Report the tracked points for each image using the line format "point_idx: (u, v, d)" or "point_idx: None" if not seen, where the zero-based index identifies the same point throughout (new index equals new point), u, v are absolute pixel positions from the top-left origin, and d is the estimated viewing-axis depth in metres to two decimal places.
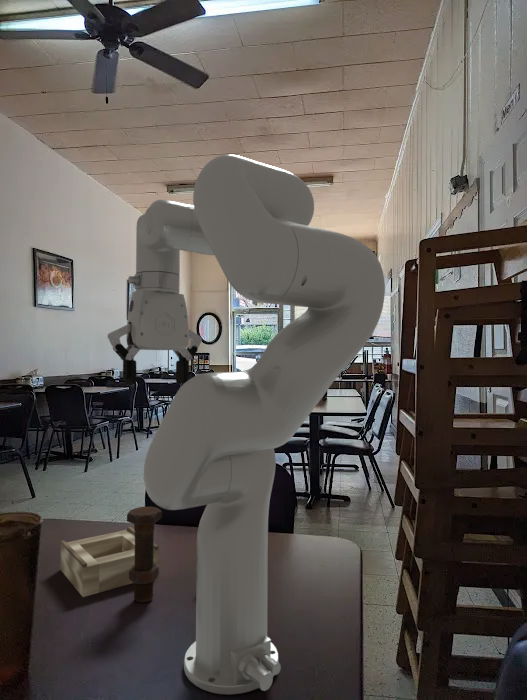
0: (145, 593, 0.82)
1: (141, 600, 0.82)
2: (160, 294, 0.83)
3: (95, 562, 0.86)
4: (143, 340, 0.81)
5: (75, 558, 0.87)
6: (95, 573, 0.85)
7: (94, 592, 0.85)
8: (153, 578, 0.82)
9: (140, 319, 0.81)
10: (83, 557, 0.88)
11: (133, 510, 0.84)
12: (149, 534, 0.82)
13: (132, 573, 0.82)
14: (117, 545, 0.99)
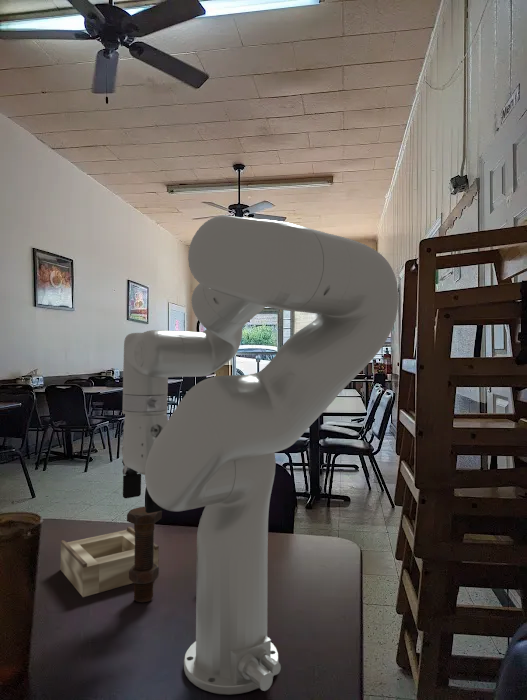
0: (145, 593, 0.82)
1: (141, 600, 0.82)
2: None
3: (95, 562, 0.86)
4: None
5: (75, 558, 0.87)
6: (95, 573, 0.85)
7: (94, 592, 0.85)
8: (153, 578, 0.82)
9: None
10: (83, 557, 0.88)
11: (133, 510, 0.84)
12: (149, 534, 0.82)
13: (132, 573, 0.82)
14: (117, 545, 0.99)
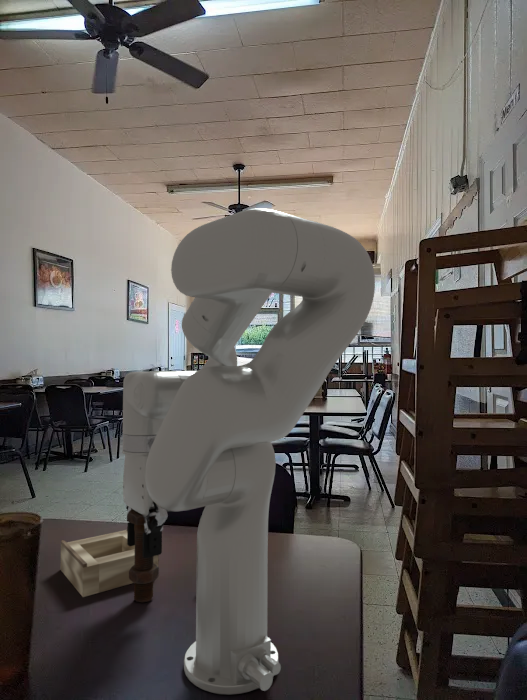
0: (145, 593, 0.82)
1: (141, 600, 0.82)
2: None
3: (95, 562, 0.86)
4: None
5: (75, 558, 0.87)
6: (95, 573, 0.85)
7: (94, 592, 0.85)
8: (153, 578, 0.82)
9: None
10: (83, 557, 0.88)
11: (133, 510, 0.84)
12: None
13: (132, 573, 0.82)
14: (117, 545, 0.99)
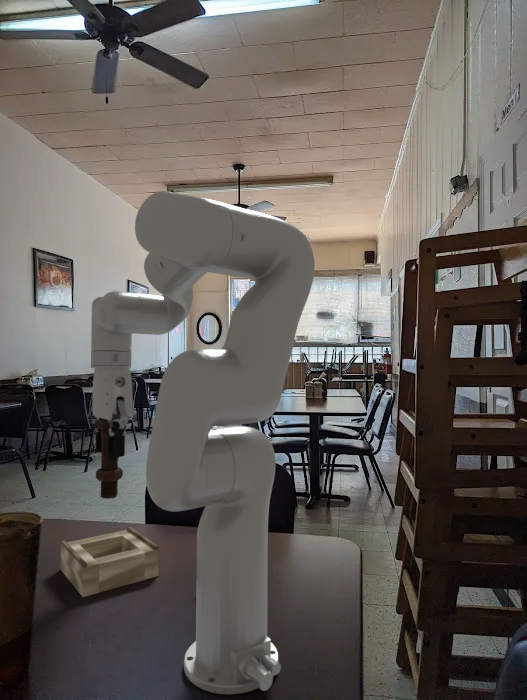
0: (110, 490, 0.93)
1: (106, 496, 0.93)
2: None
3: (95, 562, 0.86)
4: None
5: (75, 558, 0.87)
6: (95, 573, 0.85)
7: (94, 592, 0.85)
8: (117, 477, 0.93)
9: None
10: (83, 557, 0.88)
11: (100, 419, 0.95)
12: None
13: (98, 473, 0.93)
14: (117, 545, 0.99)
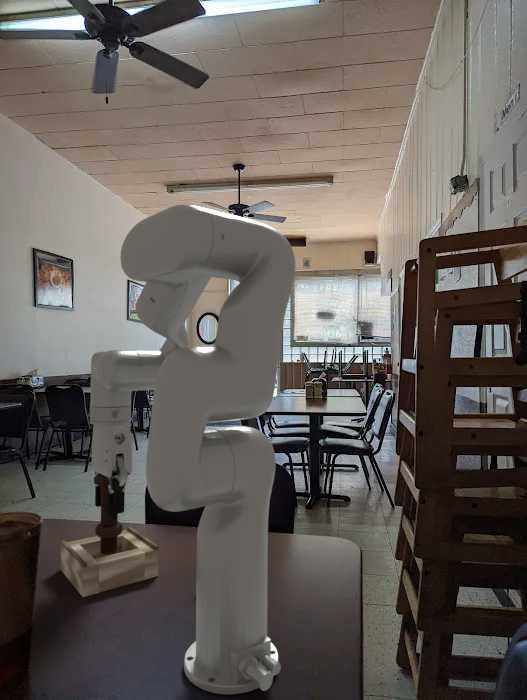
0: (109, 547, 0.92)
1: (106, 553, 0.92)
2: None
3: (95, 562, 0.86)
4: None
5: (75, 558, 0.87)
6: (95, 573, 0.85)
7: (94, 592, 0.85)
8: (117, 533, 0.92)
9: (131, 450, 0.92)
10: (83, 557, 0.88)
11: (100, 474, 0.94)
12: None
13: (98, 529, 0.92)
14: (117, 545, 0.99)
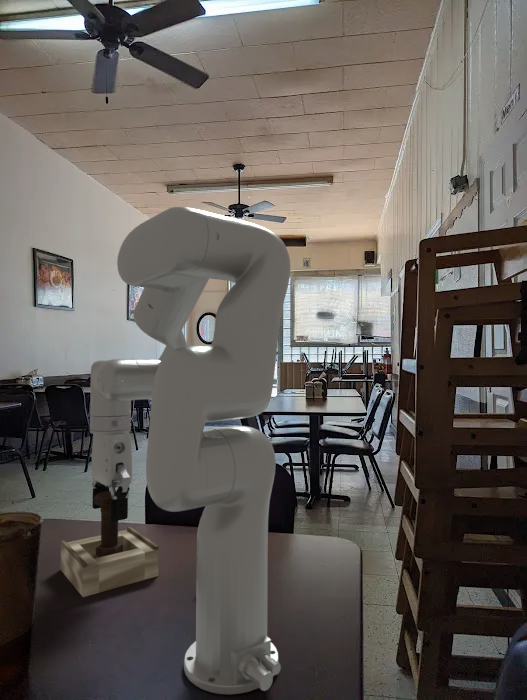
0: None
1: None
2: None
3: (95, 562, 0.86)
4: None
5: (75, 558, 0.87)
6: (95, 573, 0.85)
7: (94, 592, 0.85)
8: None
9: (131, 459, 0.92)
10: (83, 557, 0.88)
11: (100, 494, 0.94)
12: None
13: (98, 549, 0.92)
14: None
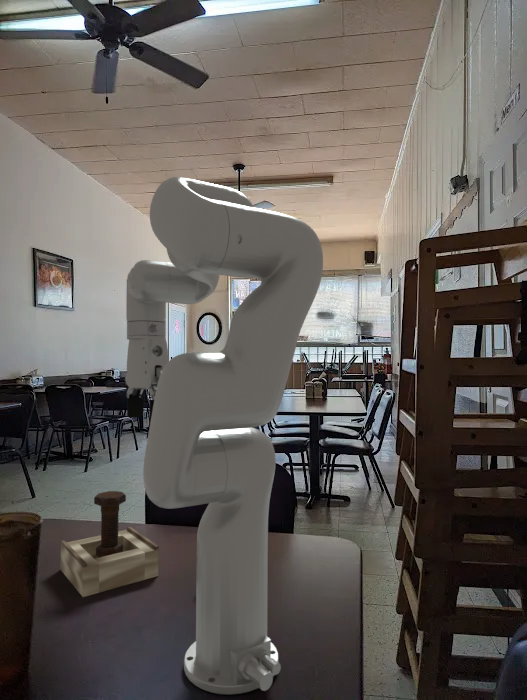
0: None
1: None
2: None
3: (95, 562, 0.86)
4: None
5: (75, 558, 0.87)
6: (95, 573, 0.85)
7: (94, 592, 0.85)
8: None
9: None
10: (83, 557, 0.88)
11: (100, 494, 0.94)
12: (114, 515, 0.93)
13: (98, 549, 0.92)
14: None
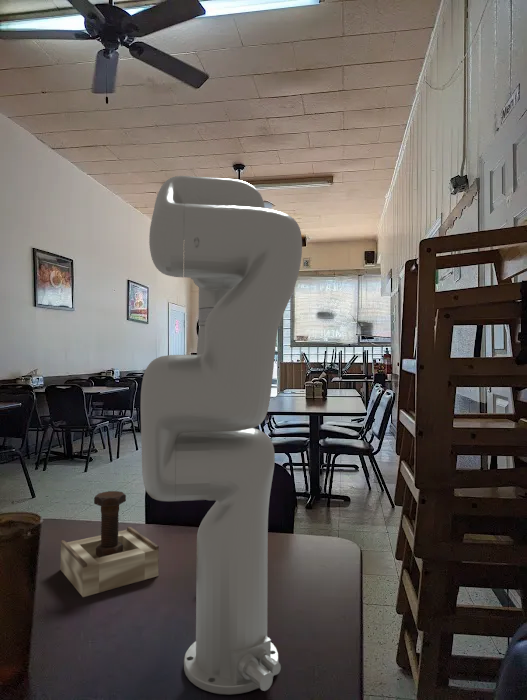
0: None
1: None
2: None
3: (95, 562, 0.86)
4: None
5: (75, 558, 0.87)
6: (95, 573, 0.85)
7: (94, 592, 0.85)
8: None
9: None
10: (83, 557, 0.88)
11: (100, 494, 0.94)
12: (114, 515, 0.93)
13: (98, 549, 0.92)
14: None
